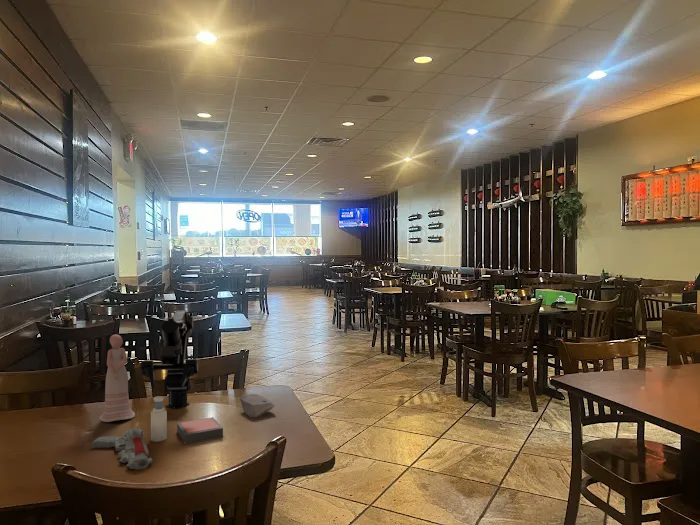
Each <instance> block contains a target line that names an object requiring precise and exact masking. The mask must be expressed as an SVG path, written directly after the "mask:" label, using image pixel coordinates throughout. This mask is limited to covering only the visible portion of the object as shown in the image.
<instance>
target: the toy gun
mask: <svg viewBox="0 0 700 525" xmlns="http://www.w3.org/2000/svg"><path fill="white" fill-rule="evenodd" d="M143 436H144V429H143V428H142V429H140V428H138V427H136V428H130V429H127V430H125V431H124V433H122V435H121V436H99V437H97V438H96V439H94V440H93V441H92V443H91V448H92V449H99V448H100V449H102V448H103V449H105V448H106V449H107V448H108V449H110V448H115V451H116V452H118V453H117V455H118V456H120V459H119V460H118V461H119V462H120V463H122V464H126V463H127V464H126V467H127V468H129V469H131V470H138V471H139V470H144V469H148V467H149V465H150V464H151V463H153V462H154V461H153V457H149V456H150V451H149V448H148V446H147V443H146V440H145V439H143Z"/></svg>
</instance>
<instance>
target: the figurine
mask: <svg viewBox="0 0 700 525" xmlns="http://www.w3.org/2000/svg"><path fill="white" fill-rule="evenodd" d="M123 343H124V340H123V337H122V336H121V335H119V334H112V335H111V336H110V337H109V344H110V345H111V348H110V349H109V350H108V351H107V357H106V367H107V369H106V370H107V371H106V376H105V384H104V385H105V387H104V388H105V390H104V410H103V412H102V414H101V415H100V417H99V421H101V422H103V423H111V422H115V421H116V422H117V421H125V420H129V419H130V420H131V419H133V418H135V417H136V413H135V412H134V411H133V410H132V409H131V406H130V400H129V379H128V378H129V377H128V371H127V369H126V366H125V365H126V364H128V358H127V357H128V356H127V354H126V349H125V348H123V347H122V345H123Z"/></svg>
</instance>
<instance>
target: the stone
mask: <svg viewBox="0 0 700 525" xmlns="http://www.w3.org/2000/svg"><path fill="white" fill-rule="evenodd" d="M239 398H240V403H241V407H242V411H243V412H244V413H245V415H246V416H248V417H249V418H252V419H253V418H254V419H255V418H260V417H261V416H263V415H264V414H266V413H267V412H269V411H271V410H272V409H273V408H274V407H275V404H274V403H273V402H272V401H271V400H270V399H269V398H266V397H264V396H262V395H259V394H258V393H250V394H243V395H240V397H239Z"/></svg>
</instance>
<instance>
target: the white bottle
mask: <svg viewBox="0 0 700 525" xmlns="http://www.w3.org/2000/svg"><path fill="white" fill-rule="evenodd" d="M164 398H165V397H164V396H162V395H157V396H154V397H153V402H154V407H153V408H152V410H151V411H150V441H151V442H156V443H157V442H163V441H166V440H167V438H168V432H167V431H168V430H167V429H168V426H167V425H168V424H167V423H168V422H167V421H168V418H167V416H168V415H167V414H168V413H167V409H165V406H163V402H164V400H165V399H164Z"/></svg>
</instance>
